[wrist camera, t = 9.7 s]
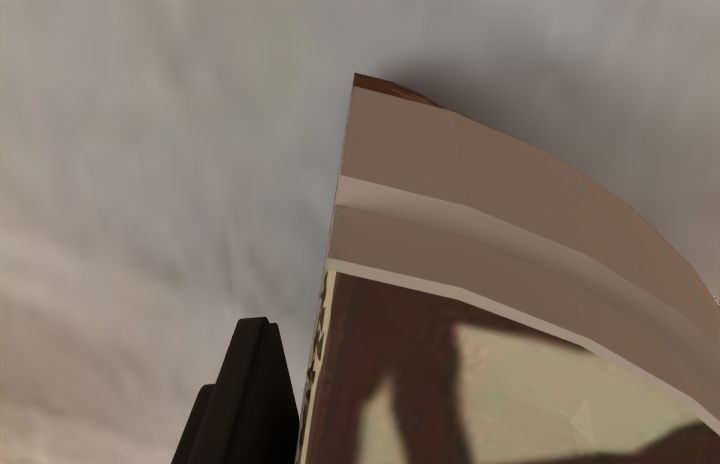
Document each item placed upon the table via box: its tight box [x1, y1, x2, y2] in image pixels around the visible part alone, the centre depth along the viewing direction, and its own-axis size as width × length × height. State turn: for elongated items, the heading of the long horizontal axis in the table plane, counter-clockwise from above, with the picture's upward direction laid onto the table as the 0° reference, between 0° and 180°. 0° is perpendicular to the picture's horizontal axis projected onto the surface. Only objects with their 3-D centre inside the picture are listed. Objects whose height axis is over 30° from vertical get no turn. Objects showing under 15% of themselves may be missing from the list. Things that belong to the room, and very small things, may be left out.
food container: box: [295, 73, 720, 464], centre depth 10 cm, size 12×6×10 cm, turn 171°
